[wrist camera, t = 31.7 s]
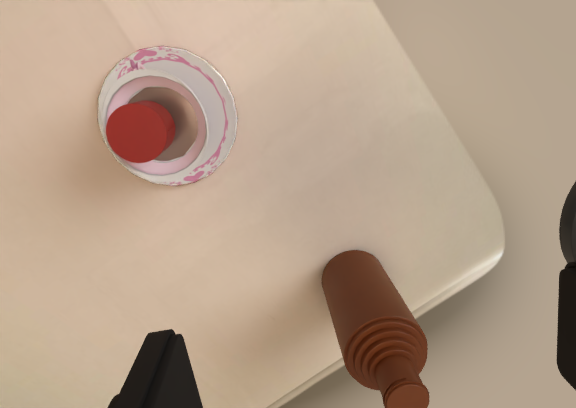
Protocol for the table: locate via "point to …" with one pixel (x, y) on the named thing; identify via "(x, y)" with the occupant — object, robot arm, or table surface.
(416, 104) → the table surface
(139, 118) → the cap
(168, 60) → the teacup
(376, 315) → the bottle
